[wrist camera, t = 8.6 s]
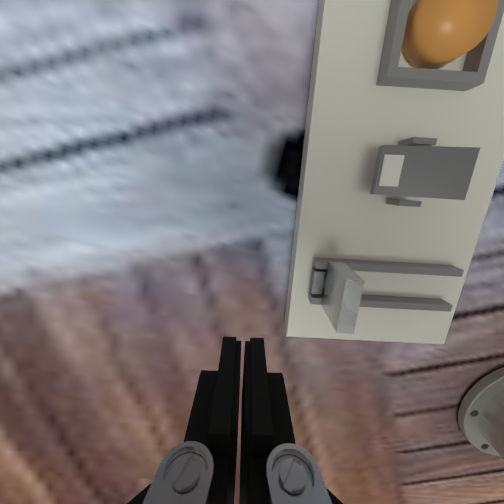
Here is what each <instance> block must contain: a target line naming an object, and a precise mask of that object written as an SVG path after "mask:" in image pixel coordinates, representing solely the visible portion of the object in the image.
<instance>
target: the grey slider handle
mask: <svg viewBox="0 0 504 504" xmlns="http://www.w3.org/2000/svg"><path fill="white" fill-rule="evenodd" d="M363 285H364V280H363V279H362V278H361V277H360V276H359V275H357V274H356V273H355V272H354V271H353V270H352V269H351V268H349V267H348V266H347V265H346V264H345V263H343V262H329V264H328V269H316V268H314V267H312V272H311V279H310V287H309V289H310V291H311V293H312V294H324V296H323V303H322V308H323V310H324V311H325V313H326V315H327V317H328V318H329V320H330V322H331V324H332V326H333V327H334V329H335V331H336V333H348V334H354V330H355V325H356V320H357V315H358V310H359V305H360V300H361V295H362V290H363Z"/></svg>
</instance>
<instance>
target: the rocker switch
mask: <svg viewBox="0 0 504 504" xmlns="http://www.w3.org/2000/svg"><path fill="white" fill-rule="evenodd" d="M479 151H480V147H443V146H406V145H382V146H380V147H379V148H378V154H377V159H376V164H375V170H374V175H373V180H372V186H371V191H370V194H376V195H392V196H407V197H423V198H439V199H455V200H465V198H466V195H467V191H468V188H469V184H470V181H471V178H472V174H473V171H474V168H475V164H476V161H477V157H478V154H479Z"/></svg>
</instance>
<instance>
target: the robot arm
mask: <svg viewBox="0 0 504 504" xmlns="http://www.w3.org/2000/svg"><path fill="white" fill-rule="evenodd" d="M240 361H241V341H236V337H223V343H222V349H221V356H220V362H219V369H218V371H205V370H202V371H201V373H200V377H199V381H198V385H197V389H196V394H195V398H194V402H193V406H192V410H191V414H190V418H189V422H188V426H187V431H186V435H185V439H184V442H183V443H180V444H178V445H176V446H175V447H173V448H172V449H171V450H170V451H169V452H168V453H167V454H166V455H165V456H164V458H163V460H162V461H161V463H160V465H159V467H158V470H157V472H156V474H155V476H154V479H153V481H152V483H151V484H150V485H149V486H147V487H146V488H145V489H144V490H143V491H141V492H140V493H139V494H138V495H137V496H136V497H134V498H133V499H132V500H131V501H130V502H129V503H127V504H234V491H235V473H236V455H237V437H238V413H239V387H240ZM458 424H459V427H460V430H461V432H462V433H463V435H464V436H465V437H466V438H467V440H468V441H469V442H470V443H471V444H472V445H473V446H474V447H475V448H477V449H478V450H480V451H482V452H484V453H487V454H490V455H494V456H499V457H502V458H503V459H504V367H503V368H500V369H498V370H495V371H493V372H492V373H490V374H488V375H486V376H485V377H483V378H482V379H481V380H480V381H478V382H477V383H476V384H475V385H474V386H473V387H472V388H471V389H470V390H469V391H468V393H467V394H466V395H465V397H464V398H463V400H462V403H461V405H460V408H459V413H458ZM239 504H343V503H342V502H341V501H340V500H339V499H337V498H336V497H335V496H334V495H333V494H332V493H331V492H330V491H329V490H328V489H327V488H326V486H325V483H324V481H323V478H322V475H321V473H320V470H319V467H318V465H317V463H316V462H315V460H314V458H313V457H312V456H311V455H310V453H309V452H308V451H307V450H305V449H304V448H302V447H301V446H298V445H296V444H295V438H294V433H293V427H292V422H291V416H290V411H289V406H288V400H287V395H286V389H285V384H284V378H283V374H282V373H267V368H266V358H265V348H264V339H263V338H250V341H245V355H244V372H243V389H242V419H241V459H240V500H239Z"/></svg>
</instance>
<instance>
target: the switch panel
mask: <svg viewBox="0 0 504 504" xmlns="http://www.w3.org/2000/svg"><path fill="white" fill-rule="evenodd" d="M417 1H418V0H319V6H318V15H317V24H316V33H315V43H314V52H313V61H312V70H311V80H310V89H309V98H308V107H307V117H306V126H305V135H304V144H303V154H302V163H301V172H300V181H299V191H298V200H297V209H296V218H295V228H294V237H293V246H292V255H291V265H290V274H289V283H288V292H287V302H286V311H285V320H284V326H285V331H286V335H287V336H291V337H310V338H329V339H348V340H368V341H387V342H406V343H425V344H444V343H445V340H446V337H447V334H448V330H449V327H450V324H451V321H452V318H453V315H454V312H455V309H456V306H457V303H458V300H459V297H460V294H461V290H462V287H463V284H464V281H465V278H466V275H467V272H468V269H469V266H470V263H471V260H472V257H473V254H474V251H475V247H476V244H477V241H478V238H479V235H480V232H481V229H482V226H483V223H484V220H485V217H486V214H487V211H488V207H489V204H490V201H491V198H492V195H493V192H494V189H495V186H496V183H497V180H498V177H499V174H500V171H501V167H502V164H503V161H504V0H498V9H497V14H496V17H495V20H494V22H493V25H492V27H491V29H490V30H489V32H488V33H487V35H486V36H485V38H484V39H483V40H482V41H481V42H480V43H479V44H478V45H477V46H476V47H474V48H473V49H472V50H470V51H468V52H467V53H465V54H463V55H462V56H460V57H458V58H457V59H455V60H454V61H452V62H450V63H449V64H447V65H445V66H444V67H442V68H440V69H424V68H415V67H414V66H412V65H411V64H410V63H409V62H408V61H407V59H406V58H405V56H404V53H403V50H402V43H403V38H404V33H405V28H406V22H407V17H408V13H409V11H410V9H411V8H412V7H413V6H414V4H415V3H416V2H417ZM382 145H406V146H443V147H480V151H479V154H478V157H477V161H476V164H475V168H474V171H473V174H472V178H471V181H470V184H469V188H468V191H467V195H466V198H465V200H455V199H439V198H423V197H407V196H392V195H376V194H370V191H371V186H372V180H373V175H374V170H375V164H376V159H377V154H378V148H379V147H380V146H382ZM329 262H343V263H345V264H346V265H347V266H348V267H349V268H351V269H352V270H353V271H354V272H355V273H356V274H357V275H359V276H360V277H361V278H362V279H363V280H364V285H363V290H362V295H361V300H360V305H359V310H358V315H357V320H356V325H355V330H354V334H348V333H336V331H335V329H334V327H333V326H332V324H331V322H330V320H329V318H328V317H327V315H326V313H325V311H324V310H323V308H322V303H323V296H324V294H312V293H311V291H310V289H309V287H310V279H311V272H312V267H314V268H316V269H328V264H329Z"/></svg>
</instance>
